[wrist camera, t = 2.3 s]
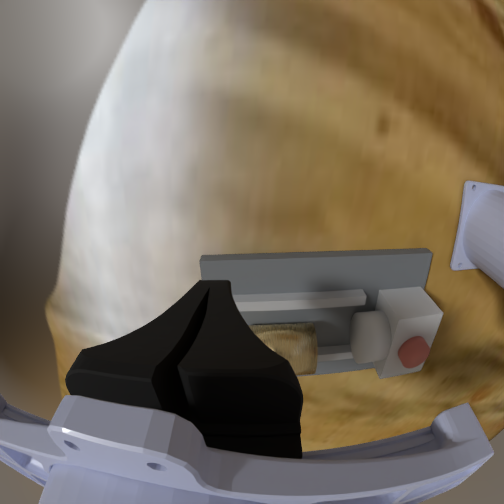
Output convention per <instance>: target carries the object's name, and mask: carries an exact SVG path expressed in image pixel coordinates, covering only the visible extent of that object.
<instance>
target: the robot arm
mask: <svg viewBox="0 0 504 504" xmlns="http://www.w3.org/2000/svg"><path fill="white" fill-rule="evenodd" d="M472 187H473V189H472ZM459 263H460V264H459ZM458 264H459V265H458ZM450 268H451V269H452V270H466V269H477V268H479V269H481V270H482V271H483V272H484V273H486V274H487V275H488V276H489V277H490V278H492V279H493V280H494V281H495V282H496V283H497V284H499V285H500V286H501V287H502V288H503V289H504V186H501V185H495V184H489V183H482V182H476V181H469V180H468V181H466V182H465V184H464V190H463V198H462V206H461V212H460V219H459V225H458V230H457V236H456V241H455V246H454V250H453V255H452V259H451V263H450ZM65 381H66V386H67V389H68V391H69V393H70V395H65V397H64V398H63V400H62V401H61V403H60V405H59V407H58V409H57V411H56V412H55V414H54V416H53V418H52V420H51V421H49V420H46V419H43V418H41V417H38V416H35V415H33V414H31V413H28V412H26V411H23V410H21V409H19V408H16V407H14V406H12V405H10V404H8V403H7V402H6V400H5V399H4V397H3V396H2V395H1V393H0V460H1V461H2V462H4V463H5V464H7V465H8V466H10V467H12V468H13V469H15V470H16V471H18V472H19V473H21V474H23V475H25V476H26V477H27V478H29V479H31V480H33V481H34V482H36V483H38V484H39V485H41V486H43V487H44V490H43V492H42V495H41V498H40V501H39V504H418V503H420V502H423V501H425V500H427V499H430V498H432V497H434V496H437V495H439V494H441V493H443V492H445V491H448V490H450V489H452V488H454V487H456V486H458V485H459V484H460V483H462V482H463V481H464V480H465V479H466V478H468V477H469V476H470V475H471V474H472V473H474V472H475V471H476V470H477V469H478V468H480V467H481V466H482V465H483V464H484V463H485V462H486V461H487V460H488V459H489V458H490V457H491V456H493V454H494V451H493V449H492V447H491V445H490V443H489V441H488V439H487V437H486V435H485V433H484V431H483V429H482V427H481V425H480V423H479V422H478V420H477V418H476V416H475V414H474V412H473V411H472V409H471V407H470V405H469V404H468V403H464V404H461V405H459V406H456V407H453V408H450V409H448V410H445V411H443V412H441V413H440V414H439V415H438V416H437V417H436V418H435V419H434V420H433V422H432V424H431V426H429V427H426V428H423V429H420V430H416V431H413V432H409V433H406V434H402V435H398V436H394V437H390V438H386V439H382V440H377V441H373V442H368V443H363V444H358V445H352V446H346V447H340V448H333V449H326V450H318V451H308V452H302V446H301V438H300V434H301V426H300V417H301V411H302V405H303V394H302V390H301V387H300V384H299V381H298V379H297V376H296V374H295V372H294V370H293V368H292V366H291V364H290V363H289V361H288V360H287V359H285V358H284V357H282V356H280V355H279V354H277V353H276V352H274V351H273V350H271V349H270V348H269V347H268V346H267V345H265V344H264V343H263V342H262V341H261V340H260V339H259V338H258V337H257V336H256V335H255V333H254V332H253V331H252V330H251V329H250V327H249V326H248V325H247V323H246V322H245V320H244V319H243V317H242V315H241V314H240V312H239V310H238V308H237V306H236V303H235V301H234V299H233V296H232V290H231V282H230V281H229V280H199V281H198V282H197V283H196V284H195V285H194V286H193V287H192V288H191V289H190V290H189V291H188V292H187V293H186V294H185V295H184V296H183V297H182V298H181V299H180V300H178V301H177V302H176V303H175V304H174V305H172V306H171V307H170V308H169V309H168V310H166V311H165V312H164V313H163V314H161V315H160V316H158V317H157V318H156V319H154V320H153V321H151V322H149V323H148V324H146V325H145V326H143V327H141V328H139V329H137V330H135V331H133V332H131V333H129V334H127V335H125V336H123V337H120V338H118V339H115V340H113V341H110V342H107V343H104V344H101V345H97V346H94V347H90V348H87V349H82V351H81V352H80V354H79V355H78V357H77V358H76V360H75V362H74V363H73V365H72V366H71V368H70V370H69V371H68V373H67V375H66V379H65Z"/></svg>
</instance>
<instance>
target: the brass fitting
mask: <svg viewBox="0 0 504 504" xmlns="http://www.w3.org/2000/svg"><path fill="white" fill-rule="evenodd" d="M248 326H249V327H250V329H251V330H252V331H253V332H254V333H255V335H256V336H257V337H258V338H259V339H260V340H261V341H262V342H263V343H264V344H265V345H267V346H268V347H269V348H270V349H271V350H273V351H274V352H276V353H277V354H279V355H280V356H282V357H284V358H285V359H287V360H288V361H289V363H290V364H291V366H292V368H293V370H294V372H295V374H296V375H309V374H315V372H316V369H317V360H318V347H317V336H316V331H315V327H314V324H313V323H297V324H275V325H248Z"/></svg>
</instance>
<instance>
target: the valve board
mask: <svg viewBox="0 0 504 504" xmlns="http://www.w3.org/2000/svg"><path fill="white" fill-rule="evenodd" d="M431 258H432V252H431V251H429V250H428V249H427V248H417V249H387V250H356V251H324V252H292V253H259V254H226V255H202V256H201V259H200V269H201V277H202V280H229V281H230V282H231V290H232V296H233V299H234V301H235V303H236V306H237V308H238V310H239V312H240V314H241V315H242V317H243V319H244V320H245V322H246V323H247V325H275V324H297V323H313V324H314V327H315V331H316V336H317V347H318V360H317V369H316V372H315V374H309V375H320V374H330V373H340V372H348V371H356V370H363V369H370V368H375V369H376V371H377V374H378V376H379V378H380V379H382V378H388V377H393V376H398V375H403V374H408V373H413V372H417V371H421V369H422V367H423V364H424V362H425V360H426V359H427V357H428V356H429V353H430V348H431V345H432V343H433V340H434V338H435V335H436V332H437V330H438V327H439V324H440V322H441V319H442V316H443V312H442V311H441V310H440V308H439V307H438V306H437V305H436V304H435V303H434V301H433V300H432V299H431V298H430V297H429V296H428V295H427V293H426V292H425V291H424V288H425V284H426V280H427V276H428V272H429V267H430V263H431ZM296 376H308V375H296Z"/></svg>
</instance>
